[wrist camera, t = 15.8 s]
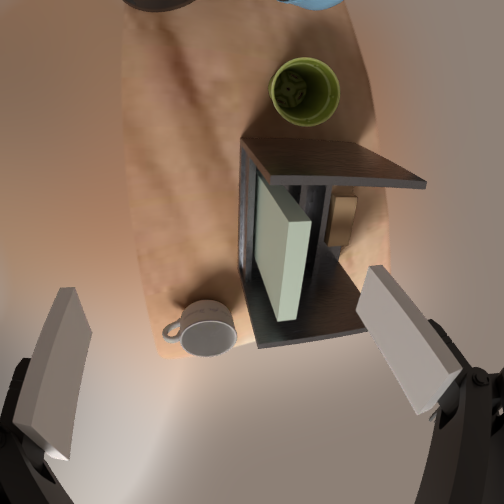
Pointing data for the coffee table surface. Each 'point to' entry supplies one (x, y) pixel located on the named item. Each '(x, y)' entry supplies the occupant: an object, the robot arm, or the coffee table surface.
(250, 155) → the rack
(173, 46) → the coffee table surface
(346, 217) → the offcut upper
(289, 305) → the sage panel
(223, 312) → the teacup
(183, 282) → the coffee table surface
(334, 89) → the plant pot
